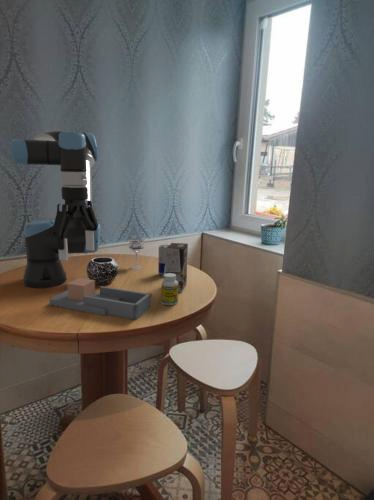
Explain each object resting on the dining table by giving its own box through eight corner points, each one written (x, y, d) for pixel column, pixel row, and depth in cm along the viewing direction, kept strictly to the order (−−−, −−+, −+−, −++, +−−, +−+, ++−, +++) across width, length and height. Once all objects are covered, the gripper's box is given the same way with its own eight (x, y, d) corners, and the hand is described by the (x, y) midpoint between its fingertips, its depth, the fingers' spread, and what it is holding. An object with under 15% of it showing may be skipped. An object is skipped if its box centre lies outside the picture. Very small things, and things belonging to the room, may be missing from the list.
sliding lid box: (49, 305, 112) (48, 291, 111) (73, 292, 123) (72, 280, 122) (134, 321, 102) (134, 306, 101) (152, 306, 114) (152, 292, 112)
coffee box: (182, 292, 126) (183, 248, 122) (164, 291, 127) (165, 247, 123) (187, 284, 134) (188, 243, 130) (170, 283, 136) (171, 242, 132)
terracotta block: (68, 298, 113) (67, 283, 111) (79, 292, 118) (79, 277, 117) (84, 301, 111) (83, 286, 110) (95, 294, 116) (94, 280, 115)
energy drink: (158, 272, 148) (158, 244, 145) (171, 272, 149) (171, 244, 146) (158, 276, 143) (158, 247, 140) (171, 276, 143) (172, 247, 140)
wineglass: (136, 264, 159) (136, 238, 156) (147, 267, 155) (147, 240, 152) (125, 267, 153) (125, 240, 150) (136, 270, 150) (136, 243, 147)
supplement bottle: (176, 299, 120) (176, 271, 118) (179, 305, 115) (179, 277, 113) (160, 299, 119) (160, 272, 116) (162, 306, 114) (163, 277, 111)
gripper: (57, 189, 94) (61, 266, 99) (107, 185, 117) (109, 247, 121) (34, 187, 96) (39, 263, 101) (88, 184, 119) (90, 245, 124)
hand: (77, 254), depth 111 cm, fingers open, 13 cm apart
